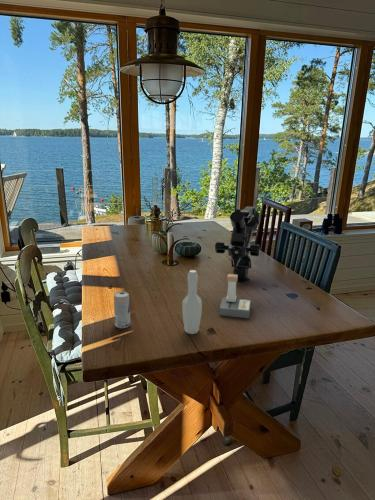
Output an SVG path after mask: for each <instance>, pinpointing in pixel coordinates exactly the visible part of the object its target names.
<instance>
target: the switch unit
mask: <svg viewBox="0 0 375 500" xmlns="http://www.w3.org/2000/svg"><path fill="white" fill-rule="evenodd" d="M251 301H252V300H251V299H240V298H236V302H228V301H226V297H222V299H221V301H220V305H219V313H218V314H219V316H224V317H233V318H241V319H242V318H243V319H250V314H251V312H250V311H251Z"/></svg>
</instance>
